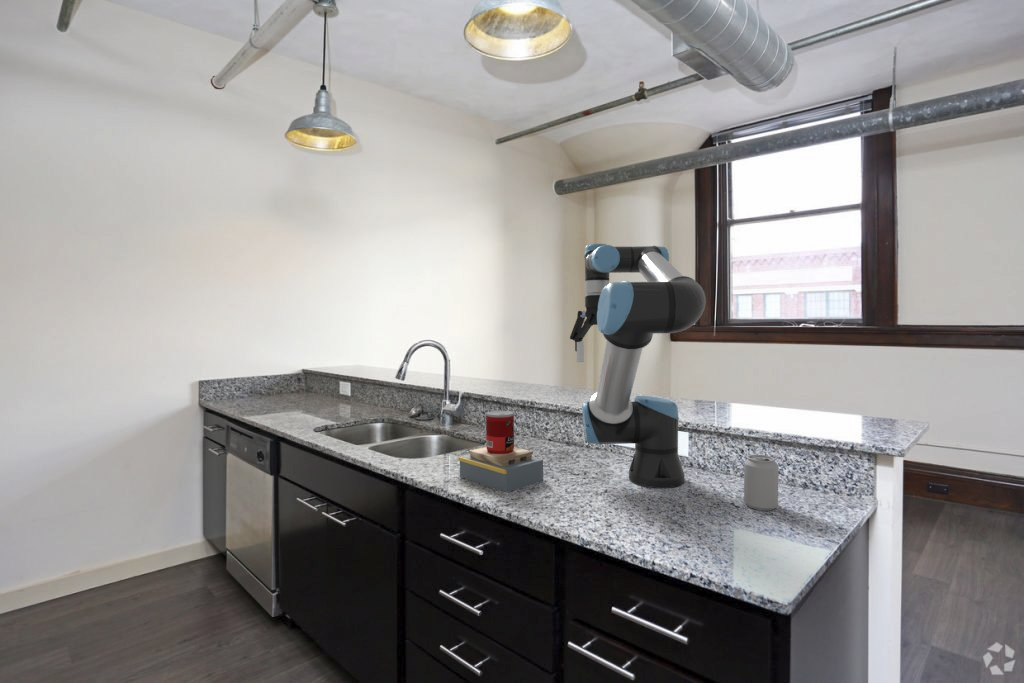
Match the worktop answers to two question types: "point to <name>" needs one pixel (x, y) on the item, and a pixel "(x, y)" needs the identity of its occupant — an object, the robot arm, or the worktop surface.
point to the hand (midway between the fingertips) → (597, 363)
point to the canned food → (500, 432)
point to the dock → (502, 473)
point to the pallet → (501, 456)
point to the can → (761, 482)
